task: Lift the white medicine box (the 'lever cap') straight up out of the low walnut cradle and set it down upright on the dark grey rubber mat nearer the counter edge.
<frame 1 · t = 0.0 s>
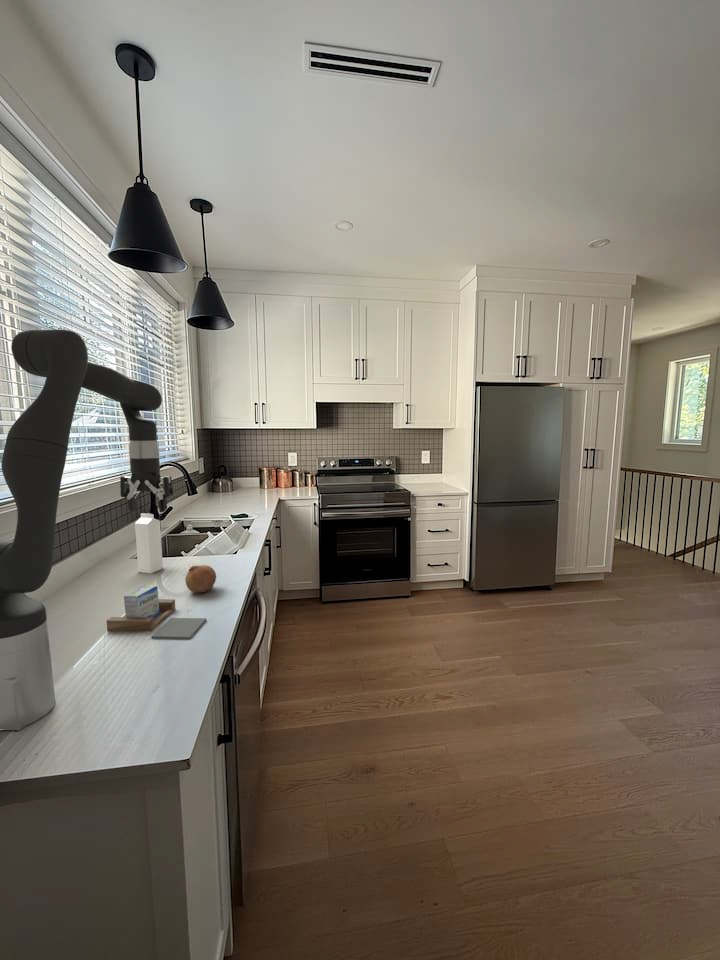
hand: (148, 511, 115), 29 cm above the countertop, fingers open, 8 cm apart
medicine box: (143, 620, 111), resting in cradle
onion: (201, 591, 130), on the countertop
cradle: (143, 619, 111), on the countertop
mat: (180, 629, 105), on the countertop
milk: (150, 570, 150), on the countertop
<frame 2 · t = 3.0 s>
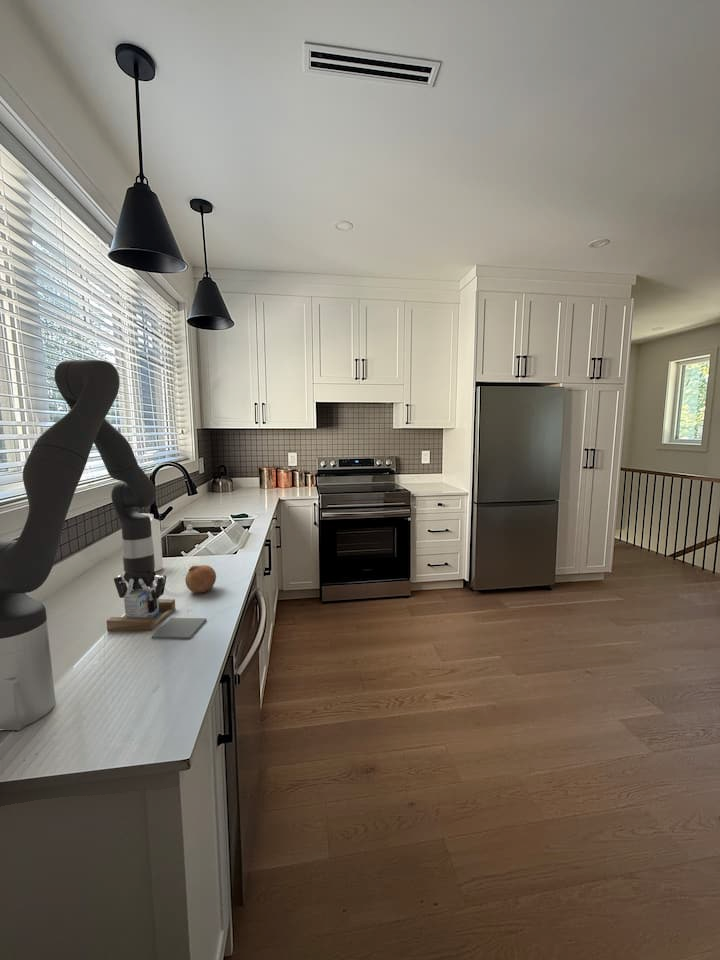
hand: (142, 611, 110), 2 cm above the countertop, fingers closed on medicine box, 5 cm apart
medicine box: (143, 620, 111), resting in cradle, touching gripper
everything else where it was.
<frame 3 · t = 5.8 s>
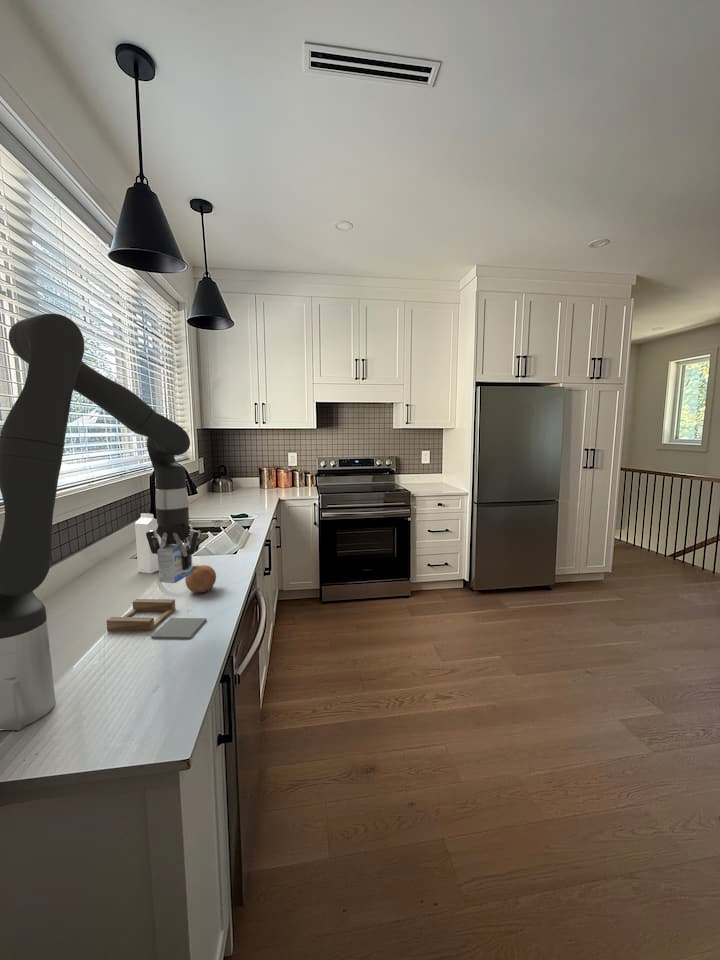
hand: (176, 568, 103), 17 cm above the countertop, fingers closed on medicine box, 5 cm apart
medicine box: (176, 578, 104), point 14 cm above the countertop, touching gripper
everything else where it was.
when the fingers open (4 cm above the countertop, at t = 8.4 s): medicine box drops 1 cm, resting on mat.
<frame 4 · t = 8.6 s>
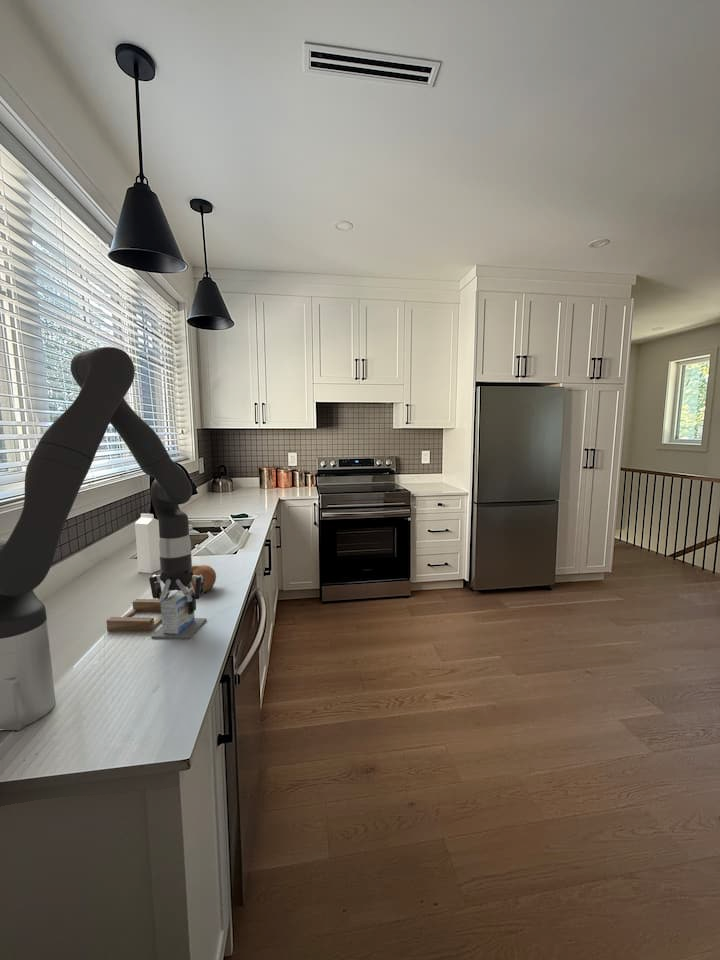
hand: (179, 612, 105), 5 cm above the countertop, fingers open, 6 cm apart
medicine box: (179, 627, 105), resting on mat
everything else where it was.
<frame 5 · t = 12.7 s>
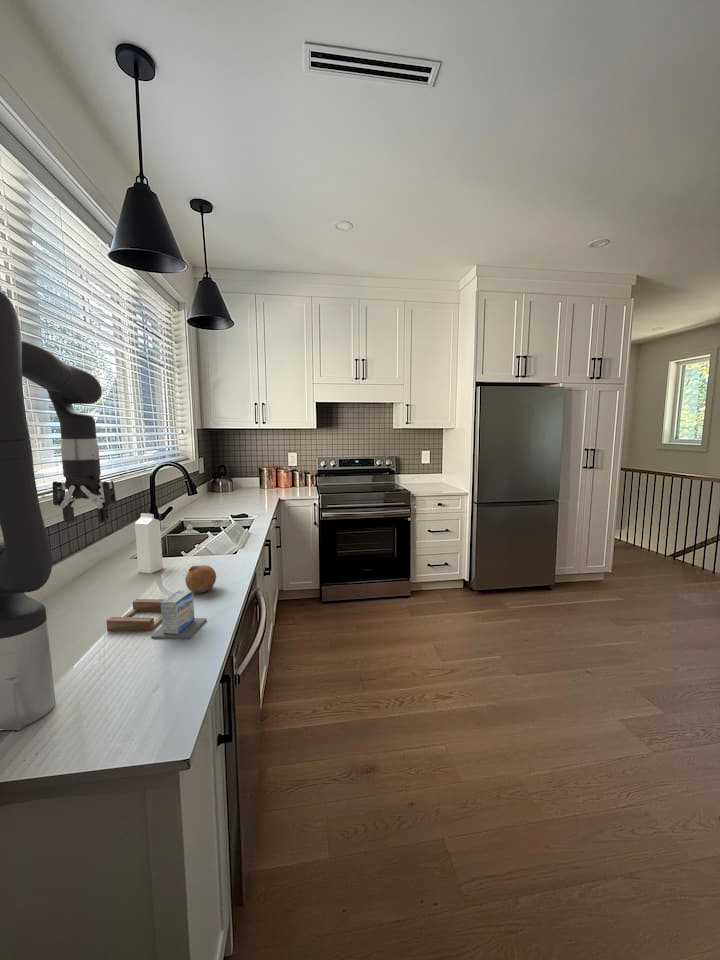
hand: (86, 522, 98), 30 cm above the countertop, fingers open, 8 cm apart
nothing on the countertop moved.
at the end: medicine box inside the target area on the mat (0.2 cm from its centre), point 0.4 cm above the mat's base; medicine box tilted 0°; the gripper is holding nothing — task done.
